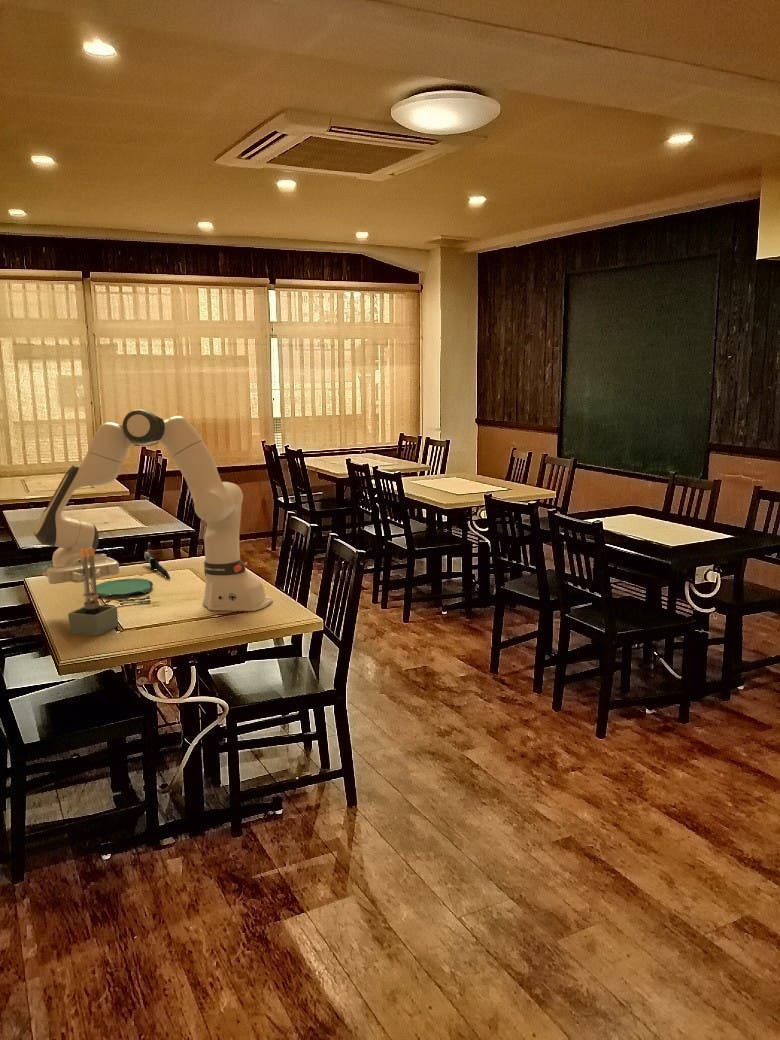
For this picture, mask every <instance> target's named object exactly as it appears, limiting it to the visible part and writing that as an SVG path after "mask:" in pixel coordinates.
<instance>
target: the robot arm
mask: <svg viewBox="0 0 780 1040" xmlns="http://www.w3.org/2000/svg"><path fill="white" fill-rule="evenodd" d="M158 443H160V444H162V445H163V446H164V447H165V449H166V450H167V452H168V453H169V455H170V456H171V458H172V460H173V461H174V463H175V465H176V466H177V468H178V470H179V471H180V473H181V475H182V476H183V478H184V480H185V483H186V485H187V487H188V489H189V494H190V495H191V498H192V501H193V509H194V512H195V514H196V517H198V518H199V519H200V520H201V521H203V522H206V528H205V533H204V537H203V541H204V559H205V560H204V562H203V565H204V566H203V568H204V577H205V589H204V595H203V600H202V605H203V606H204V607H206V608H207V610H209V611H224V612H225V611H230V612H232V611H234V612H238V611H239V612H254V611H259V610H261V609H264V608H266V607H268V606H269V605H270V604H272V603H273V598H272V596H268V595H266V593H265V587H264V585H263V583H262V581H260V580H259V579H257V578H256V577H254V576H253V575H252V574H251V573H250V572H248V571H247V568H246V566H247V565H248V561H245V562H243V560H242V559H241V552H240V550H241V549H240V528H241V521H242V520H241V518H242V506H243V505H242V504H243V501H244V494H243V491H242V489H241V487H240V486H239V485H237V484H236V483H233V482H229V481H222V479H221V477H220V473H219V471H218V468H217V467H218V466H217V463H216V459H215V458H214V456H213V454H212V453H211V451H210V449H209V448H208V446H207V445H206V442H204V440H203V438H202V436H201V435H200V434H199V432H198V431H197V429H196V428H195V427H194V425H193V424H192V423H191V421H189V420H188V418H186V417H184V416H183V415H175V416H171V417H168V418H166V419H163V418H161V417H159V415H156V413H154V412H153V411H150V410H147V409H143V408H136V409H133V410H130V411H129V412H128V413H126V415H125V416H124V418H123V421H122V423H118V422H112V421H109V422H104V423H101V424H100V426H99V427H98V428H97V429H96V431H95V433H94V435H93V437H92V439H91V441H90V444H89V447H88V448H87V449H88V450H87V452H86V454H85V456H84V458H83V459H82V460H81V461H80V462H79V463H78V464H74V465H72V466H71V467H69V469H68V470H67V472H66V473H65V474H64V476H63V478H62V479H61V481H60V483H59V485H58V487H57V488H56V490H55V492H54V493H53V496H52V497H51V499H50V501H49V502H48V504H47V506H46V508H45V509H44V511H43V512H42V514H41V515H40V517H39V518H38V520H37V521H36V524H35V526H34V530H33V534H34V536H35V538H36V540H37V541H38V542H39V544H40V545H42V546H49V547H50V546H51V547H56V548H57V547H58V548H57V549H56V550H55V551H54V552H53V554H52V558H51V559H52V565H53V566H52V567H48V568H47V569H46V571H43V572H42V575H43V577H47V578H46V579H47V582H48V583H49V584H50V585H55V584H56V585H57V584H63V583H70V582H71V583H74V584H75V583H76V584H79V583H84V580H85V574H83V566H82V556H81V552H80V549H82V548H85V549H87V548H90V547H92V548H93V549H94V551H95V552H96V551H97V548H98V545H99V542H100V535H99V531H98V528H97V527H96V525H95V524H94V523H92V522H89V521H85V520H82V519H75V518H72V517H68V516H65V515H62V513H63V512H64V510H65V507H66V505H67V504H68V502H69V501H70V498H71V497H72V495H73V493H74V492H75V491H76V490H78V489H80V488H81V489H82V488H84V487H90V486H91V487H93V486H103V485H106V484H110V483H111V482H113V481H116V479H117V478H118V477H119V474H120V473H121V470H122V467H123V465H124V461H125V459H126V456H127V453H128V451H129V450H130V448H131V447H132V446H133V447H134V446H135V447H136V446H137V447H138V446H139V447H151V446H155V445H157V444H158ZM87 554H88V550H87ZM94 563H95V576H96V580H97V579H101V578H103V577H108V576H117V575H119V573H120V563H119V562H118V560H116V559H114V558H111V557H108V556H107V554H105V553H95V556H94ZM87 565H88V578H89V580H91V577H90V564H89V555H88V557H87Z"/></svg>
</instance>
